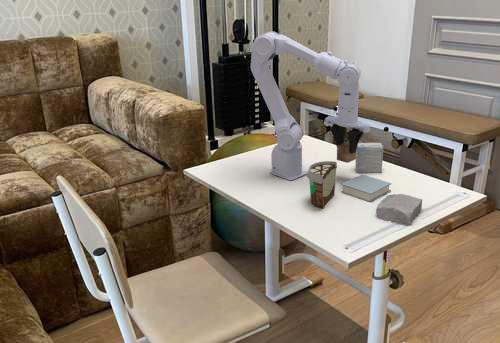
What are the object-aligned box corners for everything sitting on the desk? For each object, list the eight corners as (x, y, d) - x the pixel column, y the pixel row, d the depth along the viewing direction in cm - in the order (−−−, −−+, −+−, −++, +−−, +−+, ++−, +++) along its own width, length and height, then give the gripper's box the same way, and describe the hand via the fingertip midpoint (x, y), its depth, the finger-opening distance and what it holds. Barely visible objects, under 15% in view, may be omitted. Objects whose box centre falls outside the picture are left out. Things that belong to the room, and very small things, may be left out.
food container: (315, 190, 145) (316, 158, 142) (336, 193, 142) (337, 161, 139) (299, 207, 135) (299, 173, 131) (321, 211, 132) (322, 176, 129)
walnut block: (336, 159, 150) (337, 145, 148) (344, 156, 152) (345, 142, 151) (347, 162, 147) (347, 148, 145) (355, 159, 150) (356, 145, 148)
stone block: (373, 225, 128) (412, 227, 123) (371, 207, 127) (410, 208, 121) (387, 208, 138) (424, 209, 132) (385, 192, 136) (423, 192, 131)
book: (341, 192, 143) (341, 184, 142) (361, 181, 150) (362, 174, 149) (370, 202, 136) (371, 193, 135) (390, 191, 143) (391, 183, 142)
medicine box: (379, 168, 160) (381, 142, 156) (382, 173, 155) (383, 147, 152) (354, 168, 160) (356, 142, 157) (356, 173, 156) (357, 147, 153)
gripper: (377, 107, 141) (374, 152, 146) (336, 100, 151) (335, 142, 156) (362, 112, 137) (360, 159, 142) (321, 104, 147) (320, 148, 152)
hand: (346, 150), depth 149 cm, fingers closed on walnut block, 4 cm apart
